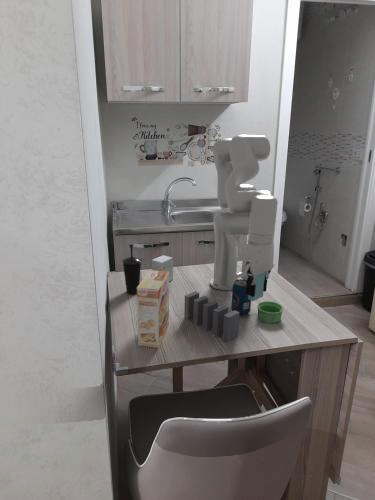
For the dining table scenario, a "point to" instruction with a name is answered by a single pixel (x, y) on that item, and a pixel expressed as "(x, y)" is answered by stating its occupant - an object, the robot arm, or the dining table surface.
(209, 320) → the tile
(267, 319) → the ramekin
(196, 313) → the tile
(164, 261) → the small box
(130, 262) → the drinking cup
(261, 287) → the teal tile
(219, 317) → the tile
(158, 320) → the coffeecake box
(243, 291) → the soda can
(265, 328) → the dining table surface
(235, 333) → the tile
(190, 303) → the tile
